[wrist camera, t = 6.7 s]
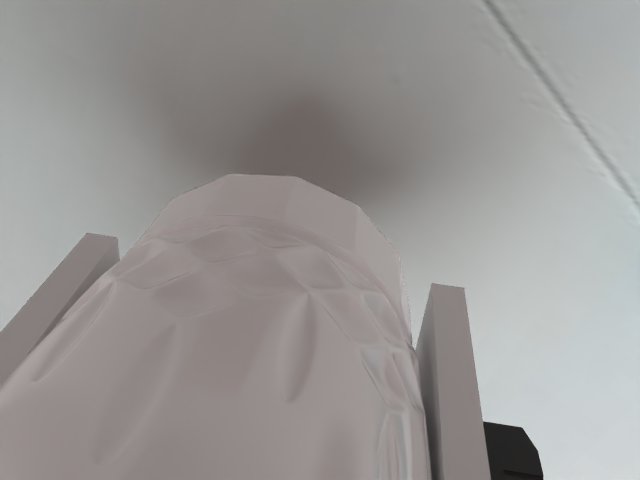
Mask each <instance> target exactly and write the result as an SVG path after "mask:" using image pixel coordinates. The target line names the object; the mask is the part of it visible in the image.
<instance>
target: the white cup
mask: <svg viewBox="0 0 640 480" xmlns="http://www.w3.org/2000/svg"><path fill="white" fill-rule="evenodd" d="M0 480H432V472H431V461H430V452H429V442H428V434H427V426H426V416H425V411H424V407H423V403H422V391H421V379H420V370H419V362H418V357H417V354H416V352H415V350H414V348H413V346H412V333H411V317H410V306H409V300H408V296H407V291H406V286H405V281H404V276H403V272H402V267H401V262H400V257H399V253H398V252H397V250H396V249H395V248H394V247H393V246H392V244H391V243H390V242H389V241H388V240H387V239H386V237H385V236H384V235H383V234H382V233H381V231H380V230H379V229H378V228H377V227H376V226H375V224H374V223H373V222H372V221H371V220H370V219H369V217H368V216H367V215H366V214H365V213H364V212H363V210H362V209H361V208H360V207H359V206H358V205H356V204H355V203H352V202H350V201H348V200H346V199H344V198H342V197H340V196H338V195H335V194H333V193H331V192H329V191H327V190H325V189H323V188H321V187H318V186H316V185H314V184H312V183H310V182H308V181H306V180H304V179H301V178H299V177H297V176H278V175H253V174H227V175H225V176H223V177H220V178H218V179H216V180H213V181H211V182H209V183H206V184H204V185H202V186H199V187H197V188H195V189H192V190H190V191H188V192H185V193H183V194H181V195H178V196H176V197H174V198H173V199H172V200H171V201H170V202H169V203H168V204H167V206H166V207H165V208H164V209H163V210H162V212H161V213H160V214H159V215H158V217H157V218H156V219H155V220H154V222H153V223H152V224H151V225H150V227H149V228H148V229H147V230H146V232H145V233H144V234H143V235H142V237H141V238H140V239H139V240H138V241H137V243H136V244H135V245H134V246H133V247H132V248H131V249H130V250H129V251H128V252H127V253H126V254H125V255H124V257H123V258H122V259H121V260H120V261H119V262H117V263H116V264H115V265H114V266H113V267H111V268H110V269H109V270H108V271H106V272H105V273H104V274H102V275H100V276H99V277H98V279H97V280H96V282H95V283H94V284H93V285H92V286H91V287H90V288H89V289H88V290H87V291H86V292H85V293H84V294H83V295H82V296H81V297H80V298H79V299H78V300H77V301H76V303H75V304H74V305H73V306H72V307H71V308H70V309H69V310H68V311H67V313H66V314H65V315H64V316H63V317H62V318H61V319H60V321H59V322H58V323H57V324H56V326H55V327H54V328H53V330H52V331H51V332H50V333H49V334H48V335H47V336H46V337H45V338H44V339H43V340H42V341H41V342H40V343H39V344H38V345H37V346H36V347H35V348H34V349H33V350H32V351H31V352H30V353H29V354H28V355H27V356H26V357H25V359H24V360H23V361H22V362H21V363H20V364H19V365H18V366H17V367H16V368H15V369H14V371H13V372H12V373H11V374H10V375H9V376H8V377H7V379H6V380H5V381H4V382H3V383H2V384H1V386H0Z"/></svg>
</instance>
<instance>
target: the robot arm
mask: <svg viewBox="0 0 640 480" xmlns="http://www.w3.org/2000/svg"><path fill="white" fill-rule="evenodd" d="M119 261H120V257H119V248H118V239H117V237H112V236H105V235H98V234H91V233H86V235H85V236H84V237H83V238H82V239H81V240H80V242H79V243H78V244H77V245H76V246H75V247H74V248H73V250H72V251H71V252H70V253H69V254H68V255H67V256H66V258H65V259H64V260H63V261H62V262H61V263H60V265H59V266H58V267H57V268H56V269H55V270H54V271H53V273H52V274H51V275H50V276H49V277H48V278H47V280H46V281H45V282H44V283H43V284H42V285H41V286H40V288H39V289H38V290H37V291H36V292H35V293H34V295H33V296H32V297H31V298H30V299H29V300H28V301H27V303H26V304H25V305H24V306H23V307H22V308H21V309H20V311H19V312H18V313H17V314H16V315H15V316H14V318H13V319H12V320H11V321H10V322H9V323H8V324H7V326H6V327H5V328H4V329H3V330H2V331H1V333H0V386H1V384H2V383H3V382H4V381H5V380H6V379H7V377H8V376H9V375H10V374H11V373H12V372H13V371H14V369H15V368H16V367H17V366H18V365H19V364H20V363H21V362H22V361H23V360H24V359H25V357H26V356H27V355H28V354H29V353H30V352H31V351H32V350H33V349H34V348H35V347H36V346H37V345H38V344H39V343H40V342H41V341H42V340H43V339H44V338H45V337H46V336H47V335H48V334H49V333H50V332H51V331H52V330H53V328H54V327H55V326H56V324H57V323H58V322H59V321H60V319H61V318H62V317H63V316H64V315H65V314H66V313H67V311H68V310H69V309H70V308H71V307H72V306H73V305H74V304H75V303H76V301H77V300H78V299H79V298H80V297H81V296H82V295H83V294H84V293H85V292H86V291H87V290H88V289H89V288H90V287H91V286H92V285H93V284H94V283H95V282H96V280H97V279H98V277H99V276H100V275H102V274H104V273H105V272H106V271H108V270H109V269H110V268H111V267H113V266H114V265H115V264H116V263H117V262H119ZM415 352H416V354H417V357H418V362H419V370H420V379H421V391H422V403H423V407H424V411H425V416H426V426H427V434H428V442H429V452H430V461H431V472H432V480H543V472H542V467H541V463H540V459H539V454H538V451H537V449H536V448H535V446H534V445H533V443H532V442H531V440H530V439H529V437H528V436H527V434H526V433H525V431H524V430H523V428H521V427H515V426H509V425H502V424H496V423H490V422H483V419H482V412H481V405H480V398H479V391H478V384H477V377H476V370H475V362H474V355H473V348H472V341H471V334H470V327H469V320H468V313H467V306H466V298H465V291H464V288H462V287H455V286H448V285H441V284H434V283H432V284H431V288H430V292H429V296H428V301H427V305H426V309H425V313H424V317H423V321H422V326H421V330H420V334H419V338H418V342H417V346H416V350H415Z"/></svg>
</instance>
